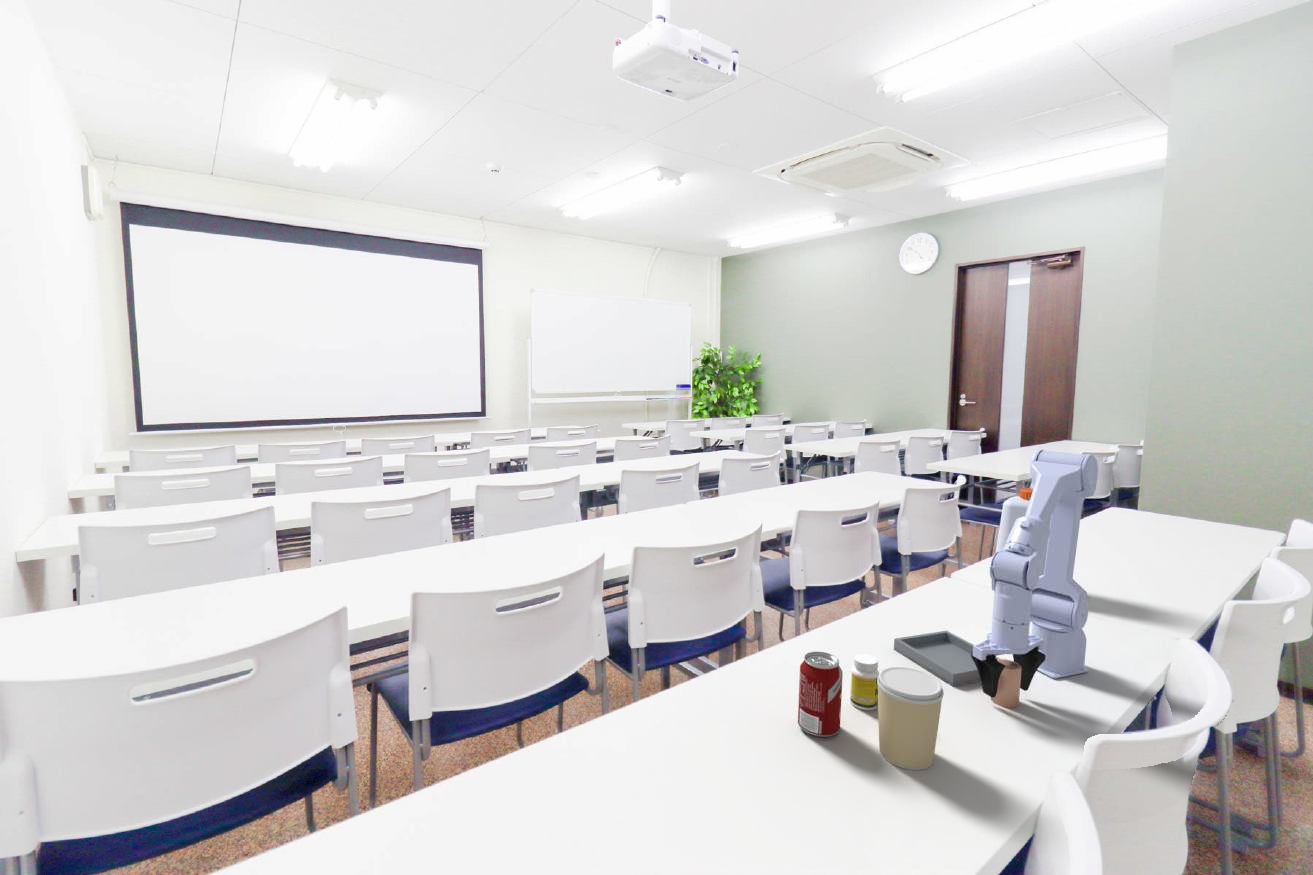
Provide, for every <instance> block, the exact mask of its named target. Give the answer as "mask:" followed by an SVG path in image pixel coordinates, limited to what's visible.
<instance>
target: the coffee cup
mask: <svg viewBox="0 0 1313 875" xmlns="http://www.w3.org/2000/svg"><path fill="white" fill-rule="evenodd" d="M877 684H878V706H877V708H878V709H877V711H878V713H877V714H878V715H877V716H878V746H879V747H878V748H879V751H880V752H879V753H880V755H881V756H882V757H883V758H884V759H885V760H886V761H887V762H889V763H890V764H892V765H894V766H896V767H899V768H901V769H904V770H910V771H923V770H926V769H928V768H930V767H931V766H932V765H933V762H934V757H935V752H936V744H937V737H938V730H939V724H940V717H941V716H940V715H941V711H942V710H941V709H942V702H943V697H944V694H945V692H944V689H943V687H942V683H941V682H940V681H939V680H938V679H937V678H936V677H935V676H934V675H931V674H929V673H927V672H925V671H922V670H919V669H916V668H911V667H905V666H893V667H891V666H890V667H888V668H884V669H883V670H881V671H880V672H879V676H878V678H877Z"/></svg>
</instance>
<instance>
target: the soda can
mask: <svg viewBox="0 0 1313 875" xmlns="http://www.w3.org/2000/svg"><path fill="white" fill-rule="evenodd" d="M803 657H804V658H803V661H802V662H801V663H800V666H799V682H798V684H799V685H798V686H799V687H798V703H797V704H798V705H797V706H798V710H797V711H798V713H797V724H798V725H799V727H800V729H801V730H803V731H804V732H806V733H807V734H809V735H811V736H813V737H819V738H828V737H832V736H835V735H837V734H838V733H839V732H840V730H841V719H842V718H841V715H842V696H843V695H842V694H843V693H842V692H843V670H842V668H841V667H840V660H839V659H838V658H837V657H836V656H835V655H834V654H831V653H829V652H825V651H810V652H807V653H806V654H805V655H804V656H803Z"/></svg>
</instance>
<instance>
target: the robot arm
mask: <svg viewBox="0 0 1313 875" xmlns="http://www.w3.org/2000/svg"><path fill="white" fill-rule="evenodd" d="M1029 465H1030V466H1029V471H1030V475H1031V481H1032V484H1033V488H1032V489H1033V492H1032V495H1031V498H1030V502H1029V505H1028V508H1027V512H1026V515H1025V516H1023V517H1020V518H1018V519H1016V521H1015V523H1014V525H1013V528H1012V530H1011V532H1010V534H1009V537H1008V539H1007V541H1006V543H1005V546H1004V548H1003V550H1002V551H1001V552H996V551H995V553H994V554H993V556H992V558H991V562H990V566H989V576H990V581H991V580H992V584H991V586H990V587H991V590H992V591H993V593H994V594H993V606H992V607H993V608H992V620H991V621H992V622H991V633H987V634H986V639H984V640H983V641H982V642H980V643H977V644H973V651H972V652H971V657H972V659H973V661H974V663H975V665H976V667H977V670H978V672H979V675H980V679H981V681H980V683H981V688H982V692H983V694H985V695H987V696H989V698H991V697H992V698H993V697H995V696H996V694H997V689H998V682H999V678H1000V675H1001V673H1002V671H1003V669H1004V668H1005V665H1004V664H1002V663H1000V662H998V661H997V659H996V657H997V656H1002V655H1003V656H1004V655H1012V659H1013V661H1014V662H1016V663H1018V664H1019V665H1021V667H1022V671H1021V684H1020V690H1022V691H1025V692H1026V691H1028V690H1029V688H1030V686H1031V683H1032V681H1033V678H1034V676H1035V674H1036V672H1037V671H1038V672H1041V673H1043V674H1044V675H1046V676H1048V677H1049V678H1052V679H1059V678H1064V677H1069V676H1074V675H1080V674H1084V673H1088V672H1089V669H1088V668H1086V667H1085V661H1086V652H1087V651H1086V650H1087V636H1086V634H1085V632H1084V630H1083V628H1084V627H1085V626H1086V624H1087V620H1088V616H1089V603H1088V602H1089V601H1088V600H1089V596H1088V592H1087V590H1085V588H1083V587H1082V586H1081V585H1080V584H1079V583H1078V582H1077V581H1075V579H1074V578H1073V577H1074V572H1075V571H1074V570H1075V563H1076V555H1077V547H1078V539H1079V538H1078V537H1079V531H1080V525H1081V516H1082V508H1083V505H1084V501H1085V498H1090V497H1094V495H1095V492H1096V489H1097V485H1098V484H1097V483H1098V475H1099V464H1098V459H1097V458H1096V457H1095V455H1094V454H1093V453H1092V454H1091V453H1089V454H1084V453H1083V454H1082V453H1072V452H1062V451H1053V450H1052V451H1051V450H1050V451H1049V450H1044V449H1038V450H1036V451H1035V452H1034V454H1033V455H1032V456H1031V460H1030V464H1029ZM1050 517H1051V523H1050V529H1049V527H1048V525H1047V522H1048V520H1049V519H1050ZM1047 541H1048V546H1047V554H1046V562H1045V570H1044V575H1041V576H1040V569H1041V565H1042V559H1041V555H1042V553H1043V550H1044V548H1045V546H1046V543H1047ZM1041 588H1042V589H1041ZM1045 589H1046V590H1045ZM1048 590H1050V591H1048ZM1052 591H1054V592H1052ZM1056 592H1058V593H1056ZM1030 623H1032V624H1030ZM1030 625H1031V626H1032V627H1031V635H1030Z"/></svg>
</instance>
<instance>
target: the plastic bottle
mask: <svg viewBox="0 0 1313 875" xmlns="http://www.w3.org/2000/svg"><path fill="white" fill-rule="evenodd" d="M1033 489H1034V488H1025V487H1024V488H1021V489H1020V490H1019V495H1014V496H1011V497H1010V498H1008V499H1006V500H1005V501H1004V502H1003V503H1002V510H1001V517H1000V521H999V530H998V534H997V541H996V549H995V553H996V552H1001V551H1002V550H1003V548H1004V546H1005V543H1006V541H1007V539H1008V537H1009V534H1010V532H1011V530H1012V528H1013V525H1014V523H1015V521H1016V519H1018V518H1020V517H1023V516H1025V515H1026V512H1027V508H1028V505H1029V502H1030V498H1031V495H1032V492H1033ZM1050 523H1051V517H1050V519H1049V520H1048V522H1047V525H1048V527H1049V529H1050ZM1047 546H1048V541H1047V543H1046V546H1045V548H1044V550H1043V553H1042V555H1041V559H1042V565H1041V569H1040V576H1041V575H1044V570H1045V562H1046V554H1047ZM990 583H991V585H992V580H991V579H990ZM1041 589H1042V588H1041ZM1045 590H1046V589H1045ZM1048 591H1050V590H1048ZM1052 592H1054V591H1052ZM1056 593H1058V592H1056Z"/></svg>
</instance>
